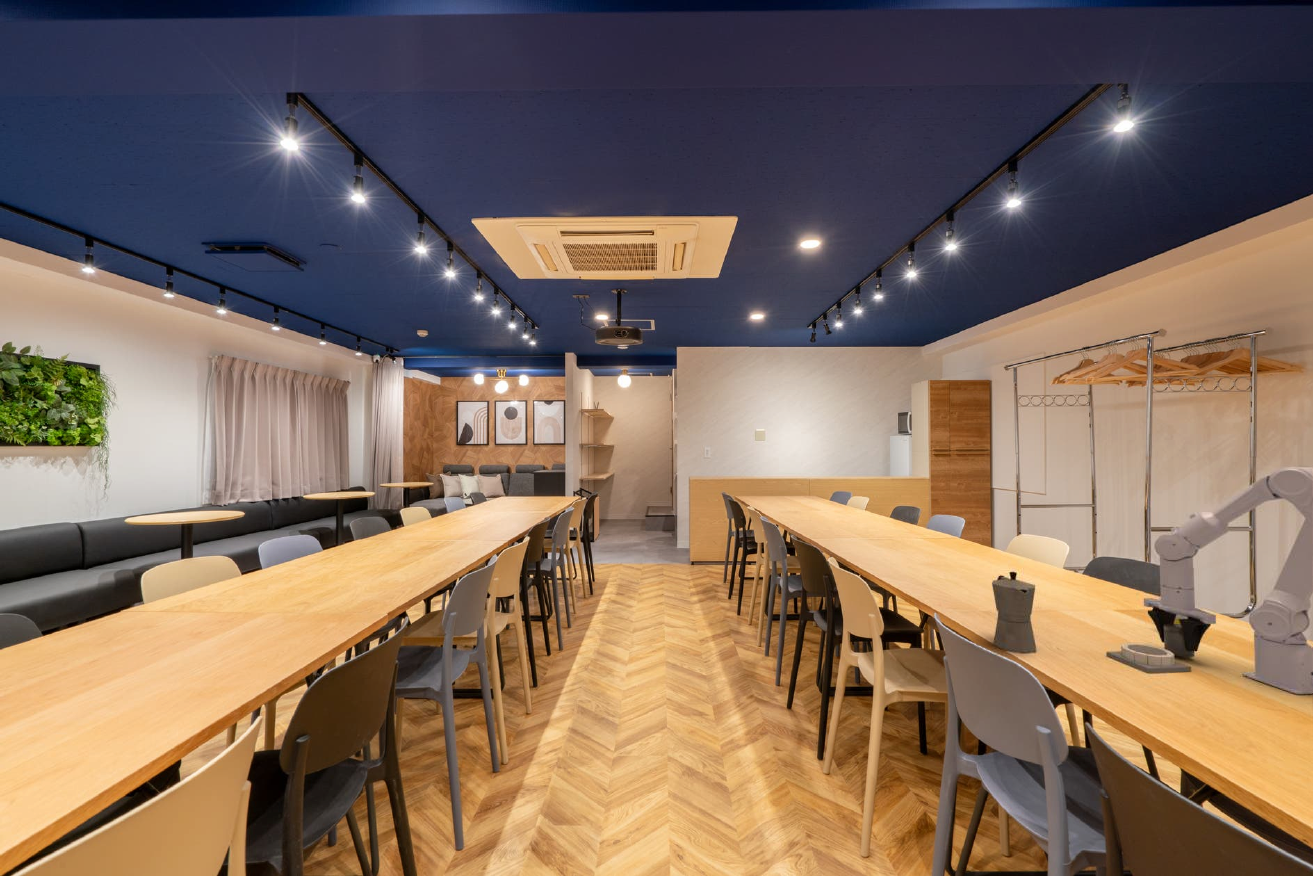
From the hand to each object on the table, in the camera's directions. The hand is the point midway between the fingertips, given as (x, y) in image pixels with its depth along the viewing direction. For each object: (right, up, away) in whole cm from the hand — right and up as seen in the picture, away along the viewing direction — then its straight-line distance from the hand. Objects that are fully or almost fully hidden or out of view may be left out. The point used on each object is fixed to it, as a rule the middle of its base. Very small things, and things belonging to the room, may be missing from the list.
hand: (1179, 646), depth 128 cm
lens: (0, -2, 0) cm, 2 cm away
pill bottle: (+15, -3, +16) cm, 22 cm away
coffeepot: (-33, -3, +8) cm, 34 cm away
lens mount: (-11, -2, -4) cm, 12 cm away
